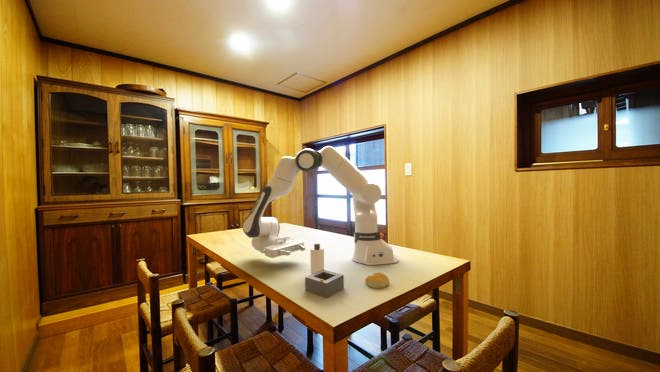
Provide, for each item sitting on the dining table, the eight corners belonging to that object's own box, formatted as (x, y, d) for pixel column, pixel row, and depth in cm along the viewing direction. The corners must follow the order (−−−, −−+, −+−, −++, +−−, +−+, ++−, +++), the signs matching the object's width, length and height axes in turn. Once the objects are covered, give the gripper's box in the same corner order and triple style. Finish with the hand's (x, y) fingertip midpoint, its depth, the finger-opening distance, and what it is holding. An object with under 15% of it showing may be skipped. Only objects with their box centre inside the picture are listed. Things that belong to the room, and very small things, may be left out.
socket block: (323, 282, 104) (322, 268, 103) (343, 288, 97) (343, 274, 97) (305, 290, 96) (305, 276, 96) (326, 298, 90) (326, 282, 89)
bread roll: (361, 285, 101) (361, 274, 101) (375, 278, 107) (375, 269, 107) (379, 291, 95) (379, 280, 95) (393, 284, 101) (393, 273, 101)
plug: (317, 272, 114) (316, 242, 114) (324, 274, 112) (323, 244, 112) (310, 275, 111) (310, 244, 111) (317, 277, 109) (317, 246, 108)
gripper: (258, 244, 119) (278, 249, 111) (291, 236, 135) (311, 239, 127) (258, 258, 120) (279, 263, 111) (292, 248, 135) (312, 253, 127)
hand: (296, 251), depth 119 cm, fingers open, 8 cm apart
